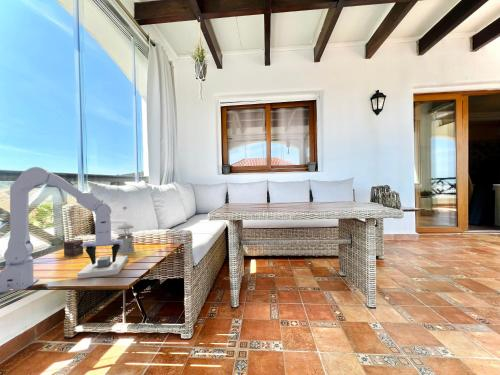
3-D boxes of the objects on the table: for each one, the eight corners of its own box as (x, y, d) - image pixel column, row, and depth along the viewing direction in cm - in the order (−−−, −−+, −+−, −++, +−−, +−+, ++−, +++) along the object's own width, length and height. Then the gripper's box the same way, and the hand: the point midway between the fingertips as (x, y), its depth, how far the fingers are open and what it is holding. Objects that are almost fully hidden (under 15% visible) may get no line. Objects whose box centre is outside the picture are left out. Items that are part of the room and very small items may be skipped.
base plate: (117, 274, 95) (117, 269, 95) (77, 278, 91) (77, 273, 91) (128, 259, 115) (127, 255, 114) (95, 262, 110) (95, 258, 110)
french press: (114, 255, 121) (112, 207, 121) (117, 250, 132) (116, 206, 132) (135, 253, 125) (134, 206, 125) (136, 248, 136) (135, 205, 136)
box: (73, 256, 121) (72, 242, 121) (63, 256, 123) (63, 242, 123) (83, 253, 127) (83, 239, 127) (74, 252, 129) (74, 239, 128)
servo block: (107, 271, 99) (106, 259, 99) (97, 272, 98) (97, 260, 98) (110, 267, 104) (110, 256, 104) (101, 268, 103) (101, 257, 103)
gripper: (124, 228, 107) (124, 258, 107) (87, 230, 103) (88, 261, 103) (120, 231, 100) (121, 262, 100) (80, 234, 96) (81, 267, 96)
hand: (104, 262), depth 101 cm, fingers open, 7 cm apart
